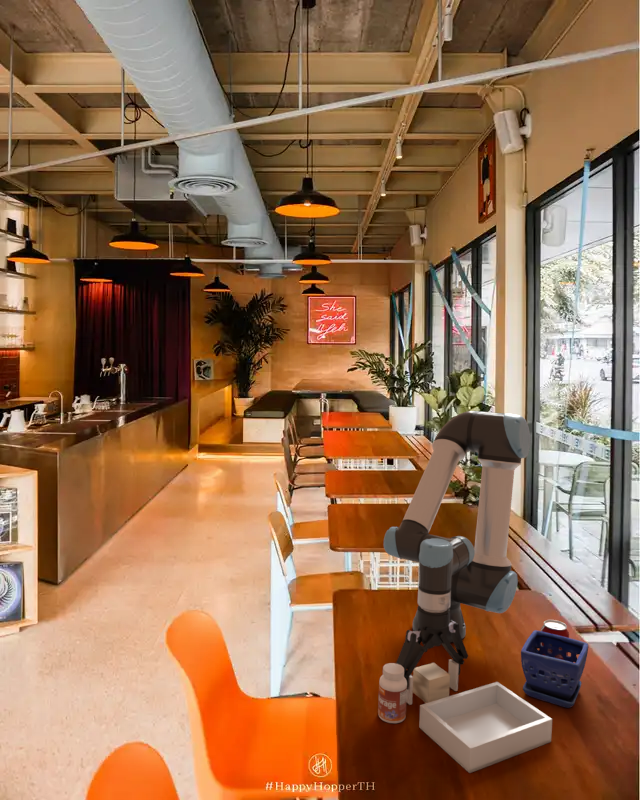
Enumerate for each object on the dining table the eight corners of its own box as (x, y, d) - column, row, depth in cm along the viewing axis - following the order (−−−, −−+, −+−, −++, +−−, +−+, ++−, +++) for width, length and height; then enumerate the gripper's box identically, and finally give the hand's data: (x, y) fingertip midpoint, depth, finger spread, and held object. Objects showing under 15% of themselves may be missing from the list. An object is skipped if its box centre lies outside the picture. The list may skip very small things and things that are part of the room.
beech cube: (412, 692, 146) (413, 668, 145) (432, 686, 149) (433, 662, 148) (428, 705, 141) (429, 680, 140) (448, 699, 143) (449, 674, 143)
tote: (419, 727, 132) (420, 705, 132) (496, 702, 142) (497, 681, 142) (469, 773, 118) (470, 748, 118) (551, 741, 128) (552, 719, 128)
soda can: (569, 678, 154) (571, 631, 153) (541, 674, 155) (543, 628, 154) (564, 664, 160) (566, 620, 159) (537, 661, 162) (539, 617, 161)
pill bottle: (372, 716, 136) (373, 668, 135) (387, 704, 140) (389, 658, 140) (396, 728, 132) (397, 678, 131) (411, 715, 136) (412, 667, 136)
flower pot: (577, 716, 137) (580, 665, 136) (517, 698, 144) (519, 649, 143) (587, 689, 149) (589, 642, 148) (530, 673, 156) (532, 628, 155)
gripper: (399, 622, 134) (396, 716, 136) (485, 603, 145) (481, 690, 147) (380, 609, 141) (377, 699, 142) (464, 592, 152) (460, 675, 154)
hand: (430, 694), depth 145 cm, fingers open, 13 cm apart
